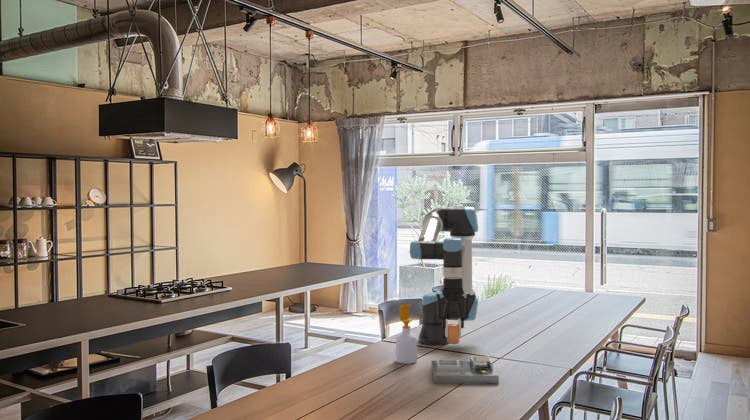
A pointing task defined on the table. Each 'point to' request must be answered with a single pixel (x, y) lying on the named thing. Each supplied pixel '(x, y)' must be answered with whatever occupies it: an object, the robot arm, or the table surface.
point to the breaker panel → (463, 372)
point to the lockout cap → (453, 334)
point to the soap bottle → (406, 340)
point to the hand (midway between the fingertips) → (453, 336)
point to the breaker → (481, 359)
